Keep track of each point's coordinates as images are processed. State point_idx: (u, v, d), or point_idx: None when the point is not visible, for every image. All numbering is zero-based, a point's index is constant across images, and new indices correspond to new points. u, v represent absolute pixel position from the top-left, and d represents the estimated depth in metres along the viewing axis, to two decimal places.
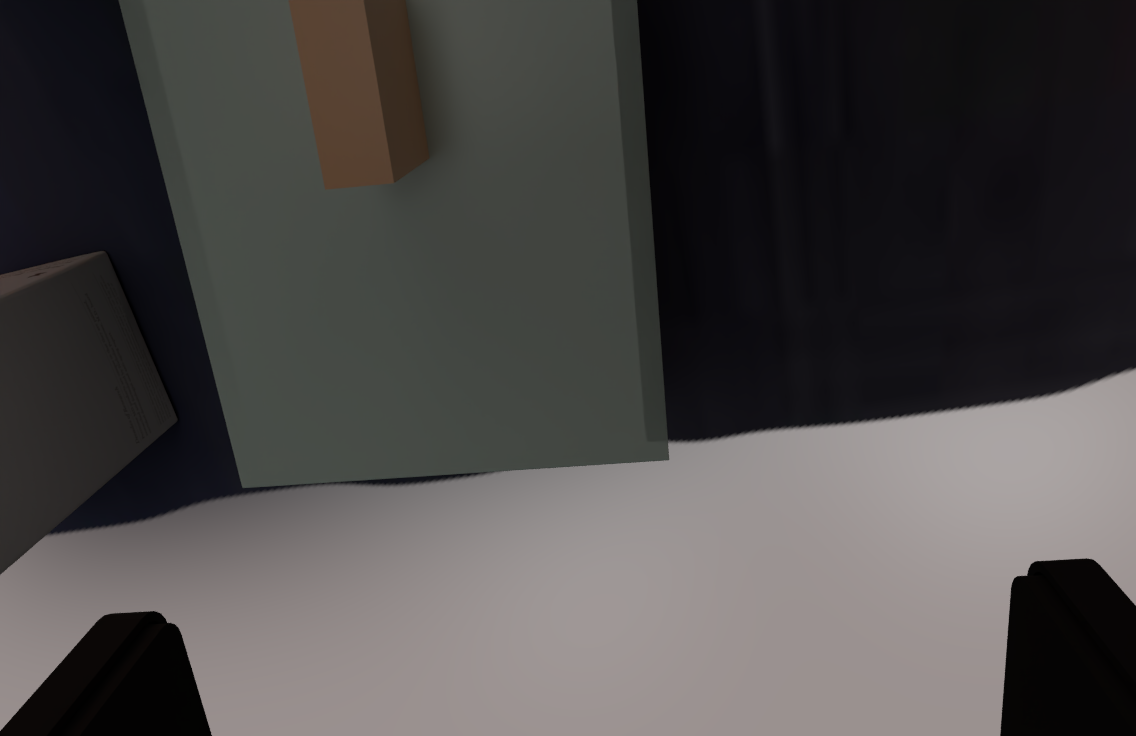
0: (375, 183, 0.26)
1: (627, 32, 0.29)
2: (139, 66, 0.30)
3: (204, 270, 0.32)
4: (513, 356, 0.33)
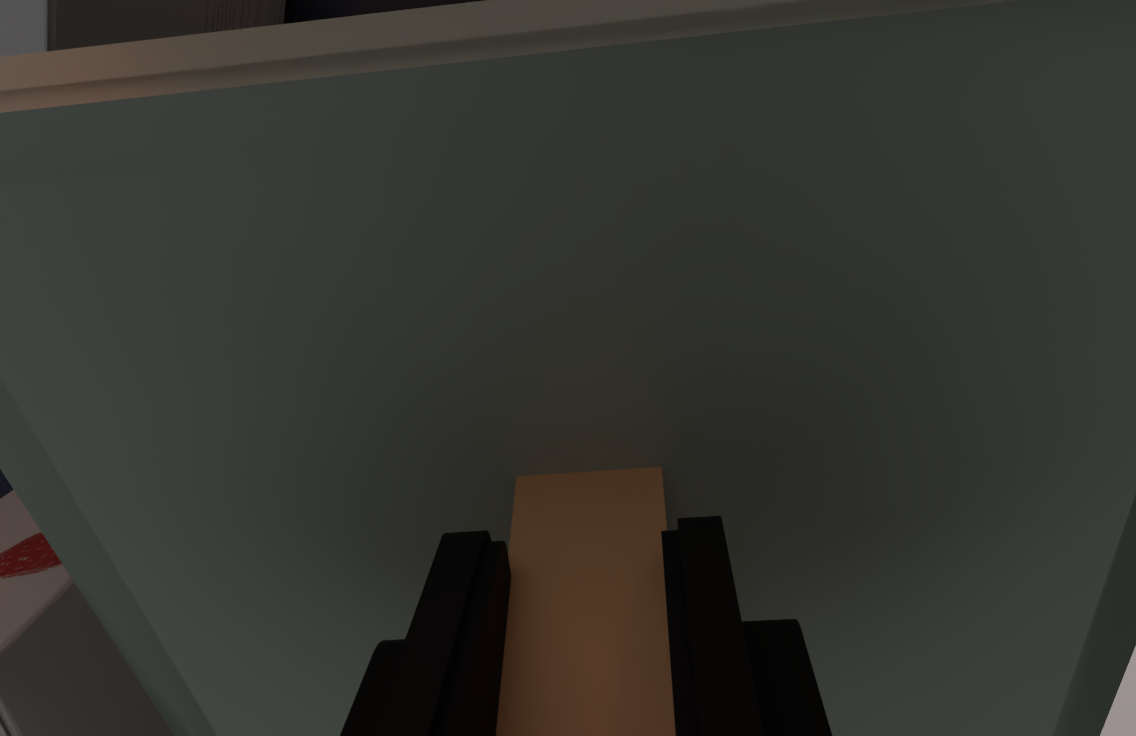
0: None
1: None
2: (72, 564, 0.14)
3: None
4: None
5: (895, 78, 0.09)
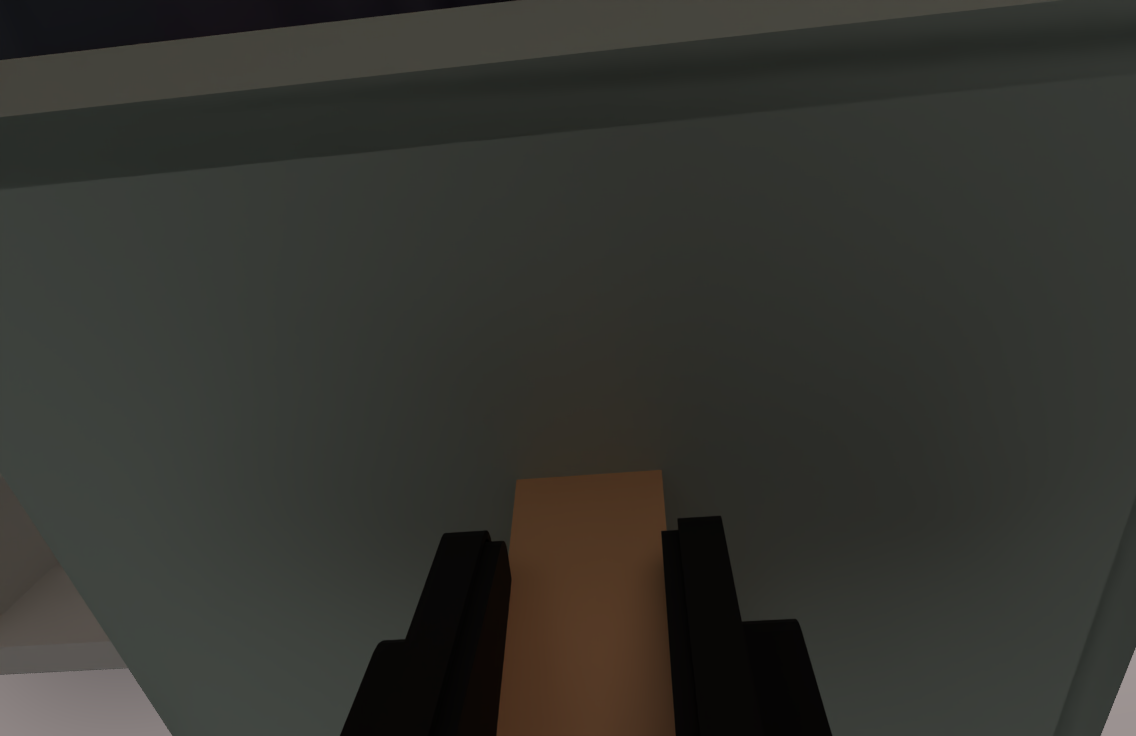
0: None
1: None
2: (71, 568, 0.14)
3: None
4: None
5: (895, 82, 0.09)
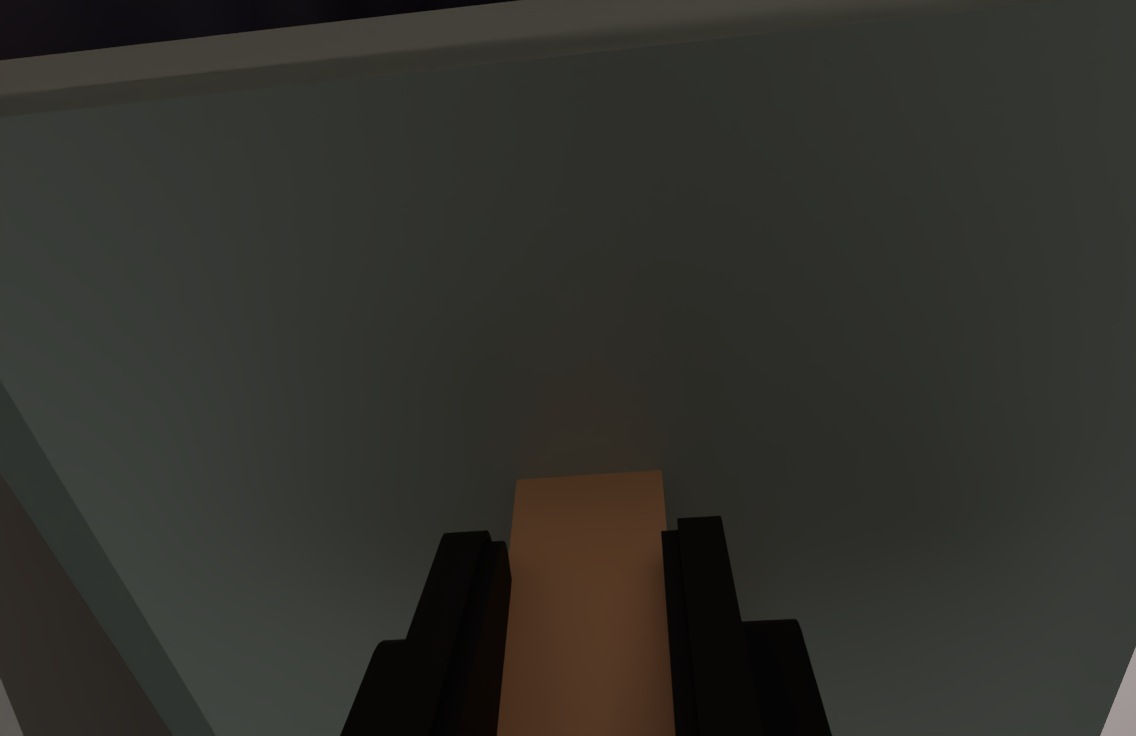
0: None
1: None
2: (72, 568, 0.14)
3: None
4: None
5: (895, 83, 0.09)
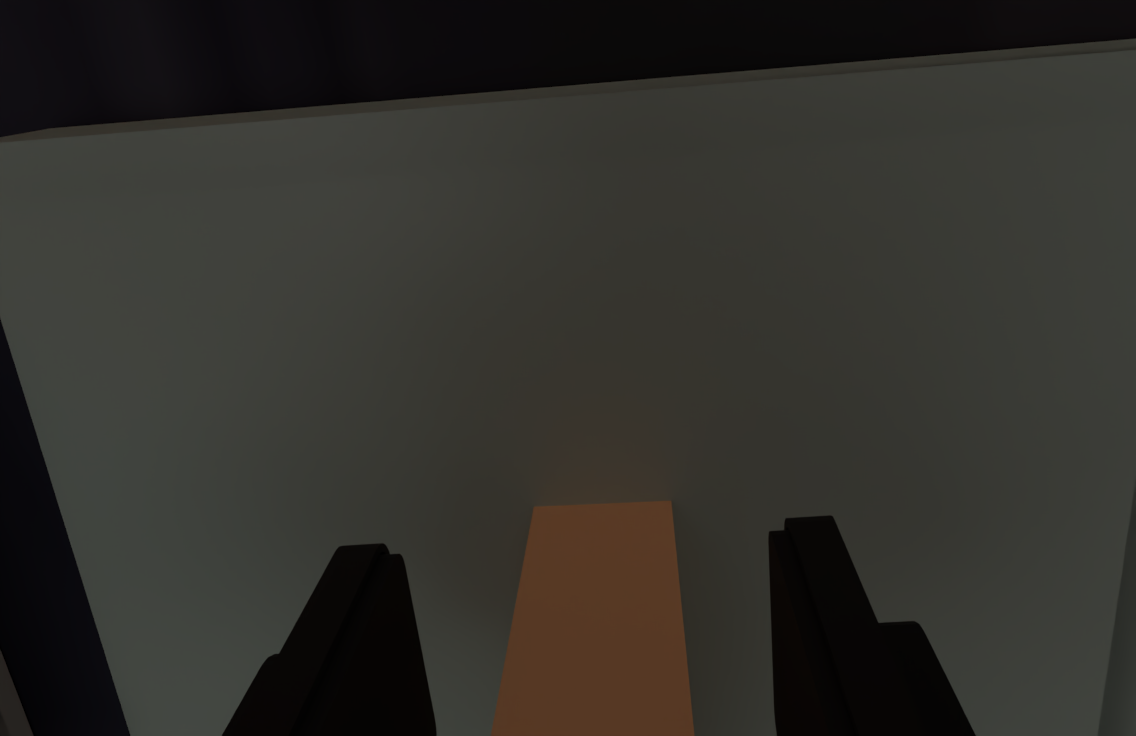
0: None
1: None
2: (95, 594, 0.14)
3: None
4: None
5: (869, 126, 0.11)
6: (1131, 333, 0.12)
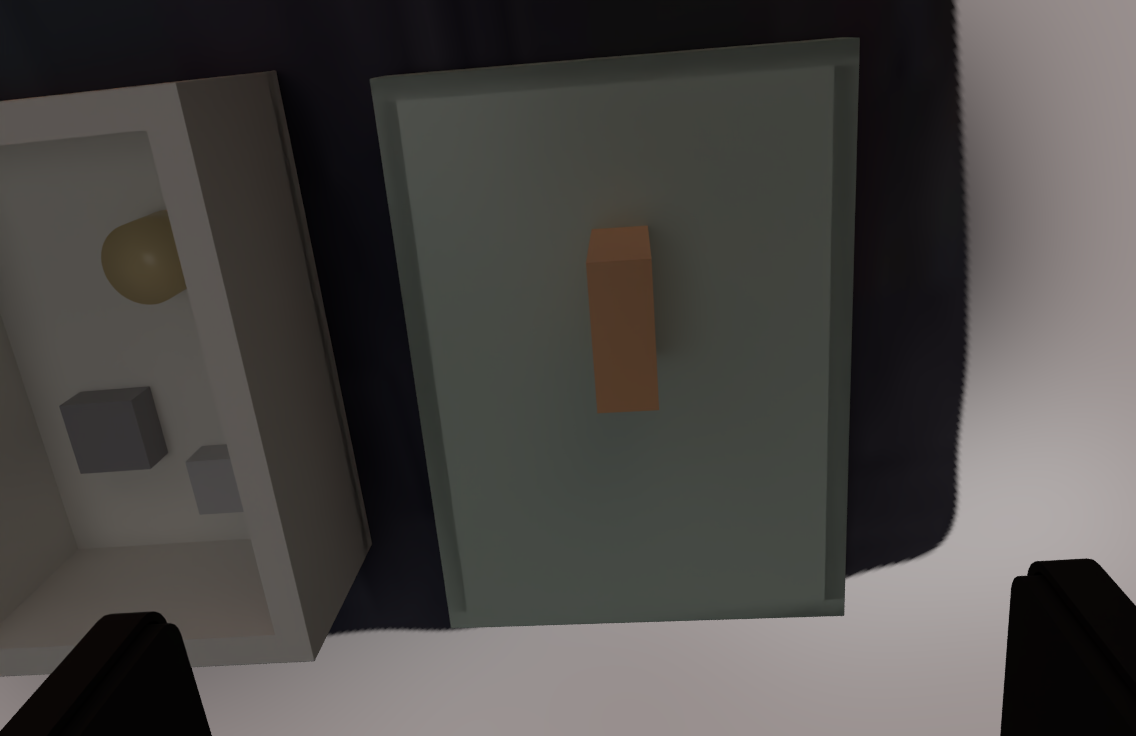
0: (642, 409, 0.29)
1: (843, 261, 0.32)
2: (402, 274, 0.34)
3: (439, 444, 0.36)
4: (711, 524, 0.36)
5: (719, 69, 0.30)
6: (822, 150, 0.31)
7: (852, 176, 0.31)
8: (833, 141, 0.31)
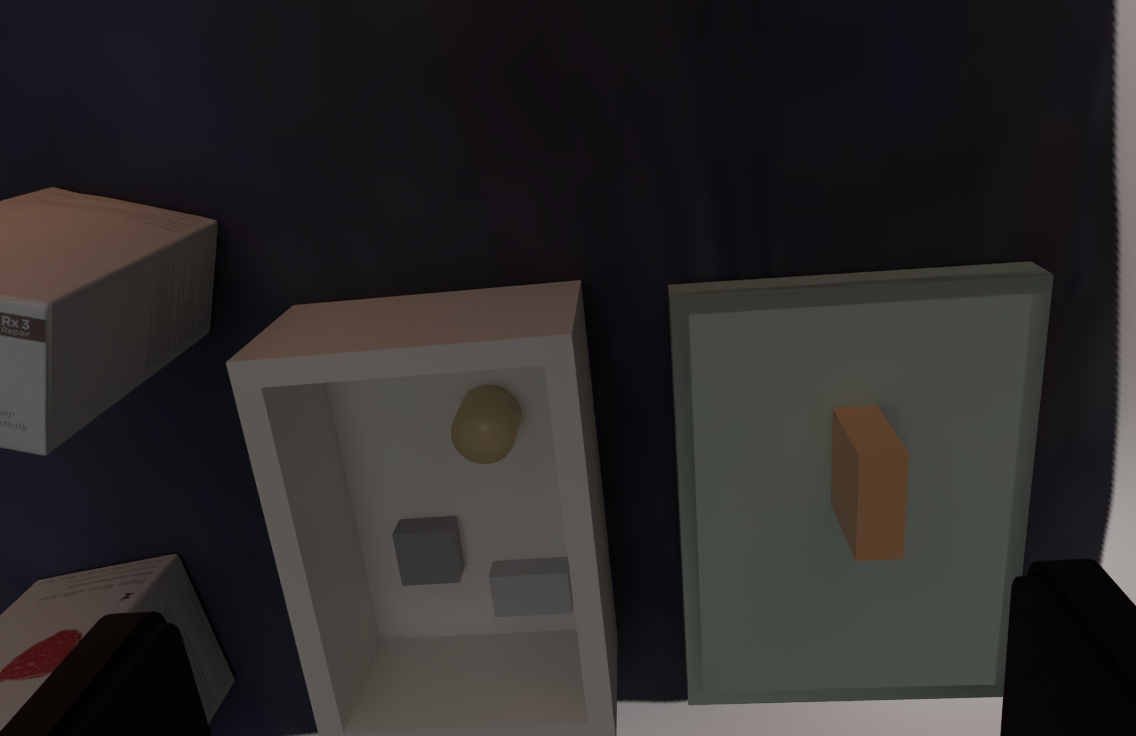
0: (891, 559, 0.39)
1: (1028, 432, 0.42)
2: (679, 439, 0.43)
3: (694, 564, 0.45)
4: (908, 626, 0.46)
5: (943, 295, 0.40)
6: (1018, 353, 0.41)
7: (1040, 372, 0.41)
8: (1027, 347, 0.40)
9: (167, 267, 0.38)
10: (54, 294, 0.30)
